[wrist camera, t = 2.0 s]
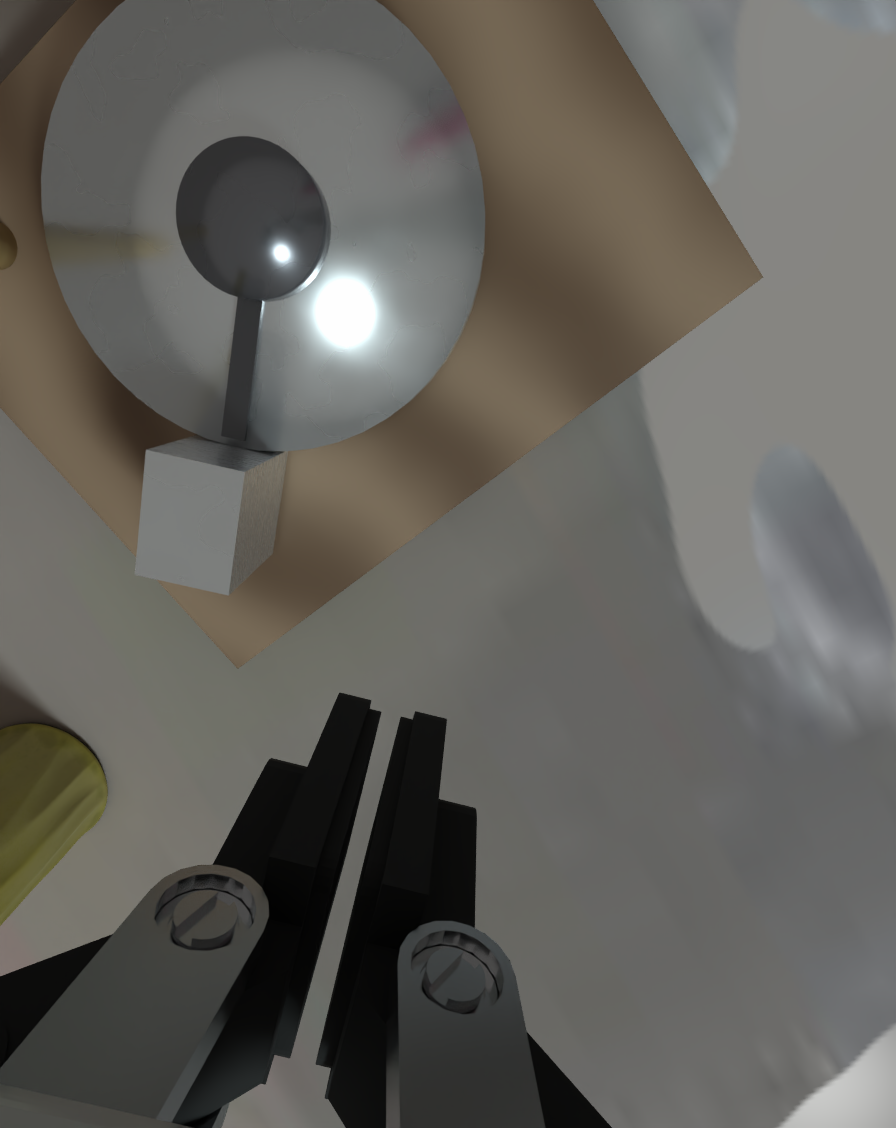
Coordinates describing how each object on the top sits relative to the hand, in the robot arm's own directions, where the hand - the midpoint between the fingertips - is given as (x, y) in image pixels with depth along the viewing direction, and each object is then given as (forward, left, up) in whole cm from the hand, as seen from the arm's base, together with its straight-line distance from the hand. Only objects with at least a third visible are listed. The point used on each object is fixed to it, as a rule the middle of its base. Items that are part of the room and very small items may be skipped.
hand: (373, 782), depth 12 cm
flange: (-1, -10, -15) cm, 18 cm away
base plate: (-2, -11, -17) cm, 20 cm away
